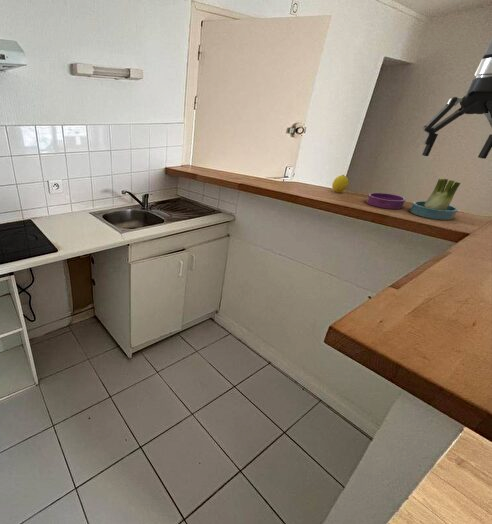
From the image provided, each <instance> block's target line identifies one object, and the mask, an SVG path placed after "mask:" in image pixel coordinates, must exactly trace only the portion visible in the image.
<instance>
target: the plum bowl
mask: <svg viewBox="0 0 492 524" xmlns="http://www.w3.org/2000/svg"><path fill="white" fill-rule="evenodd" d="M406 201H407V198H406V197H404V196H401V195H397V194H393V193H386V192H370V193H369V194H368V195H367V198H366V200H365V203H366V204H368V205H370V206H373V207H376V208H381V209H388V210H400V209H402V208H403V207H404V205H405V203H406Z"/></svg>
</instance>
